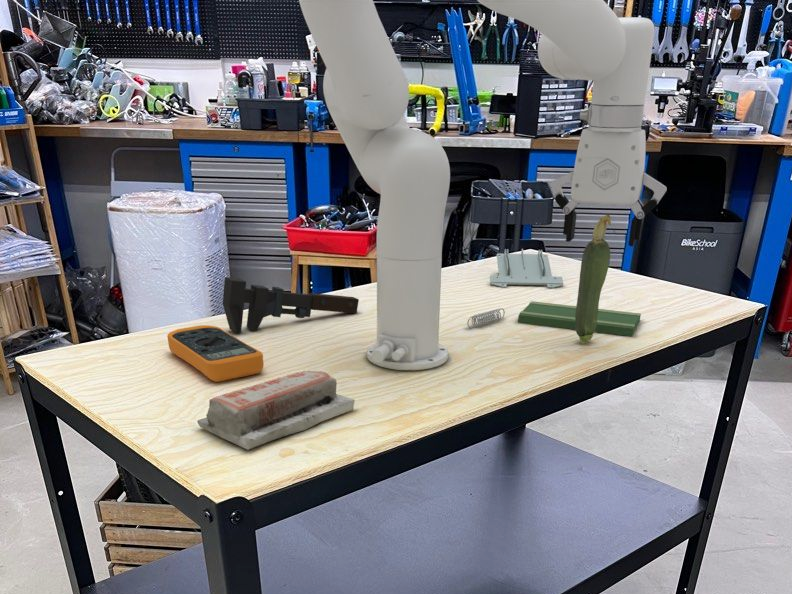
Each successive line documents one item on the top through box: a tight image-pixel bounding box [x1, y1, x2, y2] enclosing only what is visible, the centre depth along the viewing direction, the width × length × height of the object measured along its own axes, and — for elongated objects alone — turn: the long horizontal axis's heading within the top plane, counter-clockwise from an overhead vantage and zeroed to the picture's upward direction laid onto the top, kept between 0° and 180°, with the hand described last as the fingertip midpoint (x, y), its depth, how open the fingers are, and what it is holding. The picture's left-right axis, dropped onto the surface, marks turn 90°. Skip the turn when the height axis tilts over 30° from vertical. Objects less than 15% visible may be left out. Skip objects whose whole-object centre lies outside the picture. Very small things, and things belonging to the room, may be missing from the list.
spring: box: [466, 307, 506, 329], centre depth 140 cm, size 10×2×2 cm, turn 134°
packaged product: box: [196, 370, 356, 451], centre depth 101 cm, size 18×5×10 cm
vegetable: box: [575, 214, 612, 344], centre depth 127 cm, size 4×4×20 cm
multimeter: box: [167, 324, 264, 383], centre depth 119 cm, size 9×18×3 cm, turn 36°
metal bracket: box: [489, 248, 564, 289], centre depth 168 cm, size 14×6×15 cm
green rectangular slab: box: [517, 300, 642, 337], centre depth 142 cm, size 10×20×2 cm, turn 69°
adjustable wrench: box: [222, 276, 360, 334], centre depth 138 cm, size 8×3×25 cm
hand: (600, 242), depth 124 cm, fingers open, 9 cm apart
